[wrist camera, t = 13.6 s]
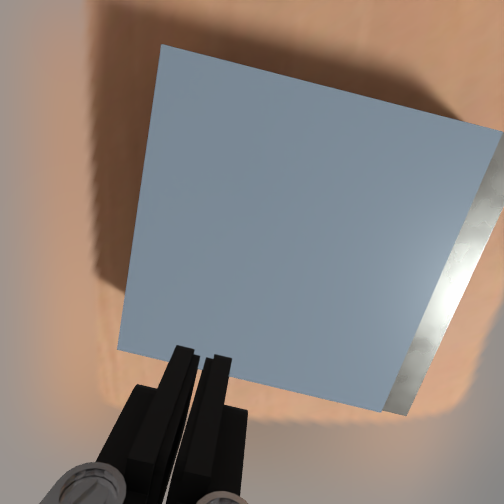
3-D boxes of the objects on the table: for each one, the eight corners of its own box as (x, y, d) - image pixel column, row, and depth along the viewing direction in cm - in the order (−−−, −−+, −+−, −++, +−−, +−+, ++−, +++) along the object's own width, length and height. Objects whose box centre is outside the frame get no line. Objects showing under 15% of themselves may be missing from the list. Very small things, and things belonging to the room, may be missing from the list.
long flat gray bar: (452, 129, 30) (501, 132, 23) (478, 135, 30) (534, 140, 23) (362, 358, 37) (381, 410, 30) (383, 363, 37) (406, 416, 30)
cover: (186, 60, 29) (161, 43, 22) (453, 128, 29) (503, 131, 23) (145, 308, 36) (117, 349, 29) (362, 360, 36) (380, 412, 30)
